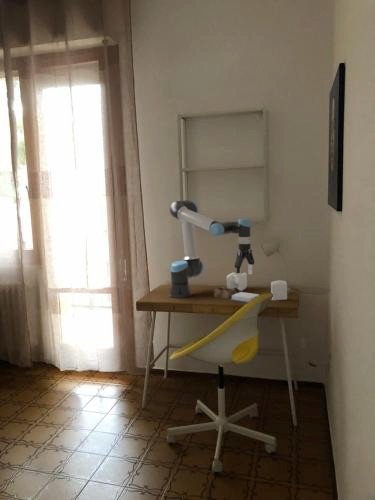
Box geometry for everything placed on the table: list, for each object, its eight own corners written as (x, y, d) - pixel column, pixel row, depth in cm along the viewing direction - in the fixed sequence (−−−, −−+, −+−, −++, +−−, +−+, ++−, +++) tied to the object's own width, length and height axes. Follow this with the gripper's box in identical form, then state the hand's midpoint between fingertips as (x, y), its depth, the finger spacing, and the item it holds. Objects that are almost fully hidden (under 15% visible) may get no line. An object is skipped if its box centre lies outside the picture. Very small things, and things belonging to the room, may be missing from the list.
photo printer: (272, 300, 260) (272, 281, 258) (270, 299, 264) (270, 280, 262) (288, 300, 260) (288, 280, 259) (285, 298, 265) (285, 279, 263)
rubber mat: (229, 300, 265) (229, 299, 265) (240, 295, 275) (240, 295, 275) (250, 303, 255) (250, 302, 255) (262, 298, 265) (262, 298, 265)
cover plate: (231, 299, 265) (231, 295, 265) (240, 295, 274) (240, 291, 273) (250, 302, 256) (250, 298, 256) (259, 298, 265) (259, 294, 264)
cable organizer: (240, 292, 285) (240, 276, 283) (226, 291, 289) (225, 275, 288) (247, 288, 298) (246, 272, 297) (233, 287, 303) (233, 271, 301)
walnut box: (214, 296, 276) (214, 289, 275) (221, 294, 282) (220, 287, 281) (229, 299, 268) (229, 291, 268) (235, 296, 274) (235, 289, 274)
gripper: (239, 245, 248) (239, 280, 251) (259, 241, 267) (259, 273, 270) (228, 245, 253) (229, 278, 256) (249, 240, 272) (249, 272, 275)
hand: (244, 276), depth 263 cm, fingers open, 13 cm apart
